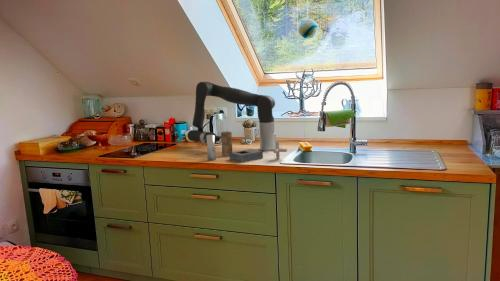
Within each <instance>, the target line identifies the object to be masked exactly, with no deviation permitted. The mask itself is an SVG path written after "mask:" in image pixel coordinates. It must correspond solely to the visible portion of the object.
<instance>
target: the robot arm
mask: <svg viewBox="0 0 500 281" xmlns="http://www.w3.org/2000/svg"><path fill="white" fill-rule="evenodd" d="M209 96H210V97H215V98H220V99H222V100H224V101H226V102H228V103H232V104H236V105H243V106H253V107H257V108H256V109H257V118H258V126H259V151H266V152H267V151H268V152H270V151H269V148H276V141H277V137H276V136H277V135H276V133H275V117H274V116H273V115H274V114H273V109H274V107H275V106H276V101H275V99H274V98H273V97H272V96H270V95H264V94H256V93H253V92H250V91H246V90H243V89H239V88H235V87H229V86H222V85H219V84H216V83H215V84H214V83H213V82H210V81H200V82H198V83H197V84H196V88H195V102H194V104H195V105H194V114H193V119H192V126H193V127H194V128H197V129H191V130H189V131H187V138H188V140H189V141H191V142H199V143H203V144H206V145H207V135H215V144H217V143H219V142H221V135H217V134H216V133H215V132H211V131H204V122H205V116H206V115H205V114H206V111H205V102H206V97H209Z"/></svg>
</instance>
